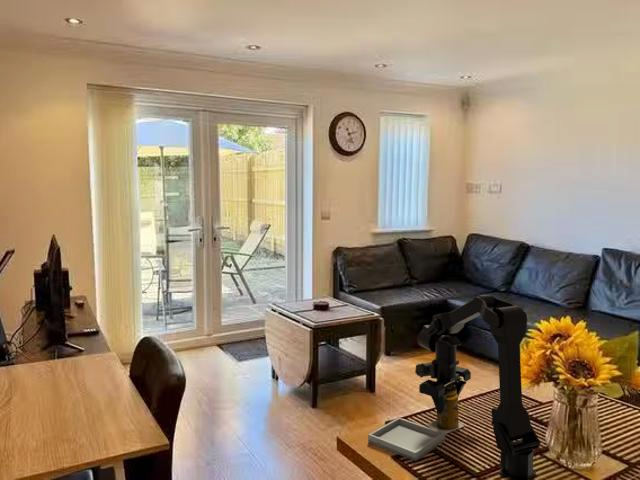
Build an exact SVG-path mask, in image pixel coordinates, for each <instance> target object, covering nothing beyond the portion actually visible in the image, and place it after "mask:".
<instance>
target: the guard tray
mask: <svg viewBox="0 0 640 480" xmlns="http://www.w3.org/2000/svg"><path fill="white" fill-rule="evenodd" d="M367 439H368V440H367V441H368V443H370V444H372V445H374V446H377V447H379V448H381V449H384V450H385V451H386V450H387V451H389V452H391V453H394V454H396V455H399V456H401V457H404V458H406V459H409V460H410V461H411V460H412V461H414V462H417V461H418V460H420V459H422V458H423V457H424V456H425V455H427V454H428V453H430V452H431V451H433V450H434V449H436V448H437V447H439V446H440V445H442V444H443V443H445V442H446V434H445V433H443V432H440V431H437V430H434V429H432V428H430V427H428V426H425V425H422V424H419V423H416V422H413V421H410V420H407V419H405V418H402V417H397V418H395V419H393V420H392V421H389V422H388V423H386V424H384V425H383V426H381V427H379V428H377V429H376V430H374V431H372V432H370V433H369V434H368V435H367ZM444 441H445V442H444ZM441 443H442V444H441ZM439 444H440V445H439ZM438 445H439V446H438ZM435 447H436V448H435Z"/></svg>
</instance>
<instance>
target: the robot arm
mask: <svg viewBox="0 0 640 480" xmlns="http://www.w3.org/2000/svg"><path fill="white" fill-rule="evenodd" d="M480 316H481V321H483V322H484V323H486V324H488V326H489V329H490V334H491V335H492V337H493V339H494V340H495V342H496V343H497V349H498V350H497V354H498V380H499V381H498V382H499V404H498V406H497V407H492V408H491V418H492V419H491V426H492V428H493V434H494V438H495V443H496V448H497V449H498V450H499V451H500V465H499V466H500V468H501V469H500V470H499V471H498V474H499V475H500V476H501V475H502V476H503V477H506V478H510V479H512V480H530V479H532V478H533V476H535V475H536V473H537V470H535V469H534V451H535V450H539V449H540V447H541V441H540V438H539V437H538V435H537V433H536V431H535V430H534V428H533V425H532V424H531V419H530V413H529V412H528V411H527V409H526V407H525V406H524V404H523V396H522V395H523V392H522V391H523V390H522V370H521V369H522V367H521V363H522V362H521V343H522V341H523V339H524V338H525V335H526V334H527V328H528V315H527V313H526V311H524V310H523V308H522V307H521V306H519V305H516V304H514V303H512V302H509V301H506V300H503V299H501V298H500V299H499V298H498V297H497V296H495V295H494V294H493V295H492V294H481V295H477V296H475V297H474V298H473V299H471V300H470V301H468V302H466V303H463V305H461V306H459V307H456V308H455V309H453V310H452V311H449V312H448V311H447V312H442V313H438V314H434V315H433V316H432V318H431V319H432V320H431V322H430V323H429V324H425V325H422V330H420V331H419V333H418V335H417V337H416V338H417V343H418V345H419V346H420V347H422V348H423V349H426V350H428V351H430V352H432V353H434V354H435V357H434V359H433V360H431V362H430V361H429V362H425V363H424V362H422V363H418V364H415V369H414V370H415V372H414V373H415V374H416V375H417V377H419V378H423V377H424V378H425V377H430V378H431V379H426V380H425V381H423V382H421V383H420V384H419V385H418V386H419V388H418V392H419V393H420V394H423V395H426V396H430V397H431V399H432V402H433V405H434V408H435V410H436V414H437V413H439V414H441V413H442V410H443V407H444V404H445V401H446V398H447V394H448V393H445V386H446V385H448V384H450V383H453V384H455V385H456V391H457V395H458V397H459V396H460V394H461V392H462V391H463V389H464V387H465V385H466V384H467V382H468V381H469V380H471V378H472V376H471V375H472V372H471V371H470V370H469V369H468V368H467V367H466V368H465V367H461V366H458V365H459V364H460V359H457V346H461V345H462V342H461V340H459V338H458V337H457V336H456V335H451V336H450V334H457V333H459V332H460V331H461V330H462V329H463V328H465V324H466V323H467V322H468V323H469V321H472V320H474V319H476V318H478V317H480ZM432 379H434V380H432ZM435 379H436V381H435Z"/></svg>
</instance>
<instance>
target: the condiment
mask: <svg viewBox="0 0 640 480" xmlns="http://www.w3.org/2000/svg"><path fill="white" fill-rule="evenodd" d="M445 393H448V394H447V398H446V401H445V404H444V407H443V410H442V413H441V414H439V413H437V412H436V420H433V421H431V422H429V423H426V424H425V425H426V427H428V428H431V429H434V430H437V431H440V432H443V433H445V435H447V434H449V433H452V432H454V431H456V430H459V429H461V428H463V427H465V426H466V424H464V423H462V422H459V396H458V395H457V391H456V385H455V384H453V383H450V384H448V385H446V386H445Z"/></svg>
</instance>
